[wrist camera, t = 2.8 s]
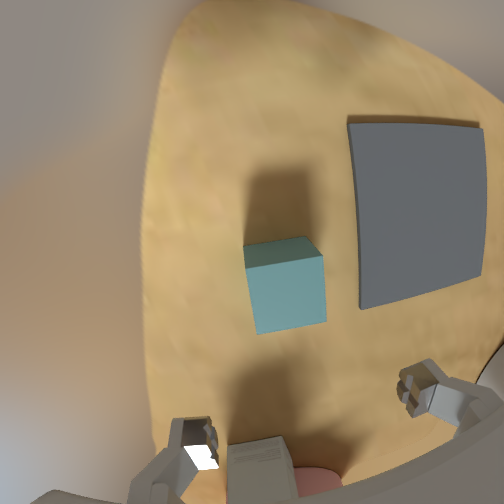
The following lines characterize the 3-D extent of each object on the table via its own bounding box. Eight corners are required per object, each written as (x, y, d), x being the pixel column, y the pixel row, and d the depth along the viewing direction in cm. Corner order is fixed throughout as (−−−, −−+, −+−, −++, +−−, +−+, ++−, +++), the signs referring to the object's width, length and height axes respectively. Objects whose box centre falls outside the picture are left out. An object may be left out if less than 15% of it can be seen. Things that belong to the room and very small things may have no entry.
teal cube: (305, 235, 23) (322, 255, 18) (310, 291, 25) (326, 321, 20) (242, 246, 23) (245, 268, 18) (252, 301, 25) (257, 334, 20)
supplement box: (225, 444, 31) (226, 529, 19) (282, 434, 31) (298, 520, 19) (241, 468, 33) (245, 541, 21) (292, 459, 33) (306, 532, 21)
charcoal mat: (479, 128, 20) (482, 128, 20) (477, 273, 25) (480, 275, 25) (346, 124, 20) (349, 123, 20) (358, 307, 25) (361, 310, 25)
